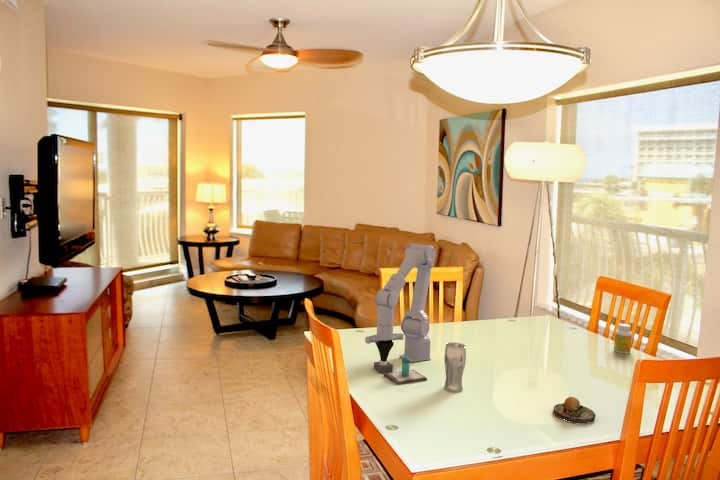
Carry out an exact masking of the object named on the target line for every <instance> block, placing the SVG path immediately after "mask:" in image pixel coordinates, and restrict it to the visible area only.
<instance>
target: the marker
mask: <svg viewBox="0 0 720 480" xmlns="http://www.w3.org/2000/svg"><path fill="white" fill-rule="evenodd" d="M401 358H402V357H401ZM410 364H411V362H410V358H408V357H403V358H402V359H401V371H402V374H401V375H402V376H405V377H407V376H409V370H410Z"/></svg>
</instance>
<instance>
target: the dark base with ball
mask: <svg viewBox="0 0 720 480" xmlns="http://www.w3.org/2000/svg"><path fill="white" fill-rule="evenodd" d="M552 413H553V414H555V415H556V416H557V418H558V419H559V418H561V419H565V420H567V421H570V422H569V423H571V422H573V423H572V424H576V423H588V422H592V423H594V422H595V419H596V413H595V412H594V411H593V410H592V409H590V408H589V407H587V406H584V405H581V402H580V400H579V399H578V398H576V397H574V396H571V394H569V397H567V398H565V399H564V402H563V403H558V404H556V405H554V406H553V411H552ZM555 415H554V416H555ZM556 416H555V417H556ZM561 419H560V420H561ZM567 421H566V422H567ZM593 421H594V422H593ZM588 424H589V423H588Z"/></svg>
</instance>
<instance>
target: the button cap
mask: <svg viewBox="0 0 720 480" xmlns="http://www.w3.org/2000/svg"><path fill="white" fill-rule="evenodd" d="M379 361H380V365H381V366H382V365H387V363H388V362H389V361H388V359H387V361H385V362H383V361H381V359H380V360H379Z"/></svg>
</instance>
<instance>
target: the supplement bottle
mask: <svg viewBox="0 0 720 480" xmlns="http://www.w3.org/2000/svg"><path fill="white" fill-rule="evenodd" d="M630 330H631V324H627V323H618V325H617V329H616V330H615V333H614V346H613V351H614V352H616V353H619V354H630V352H631V350H632V349H631V348H632V340H633V339H632V338H633V333H632V331H630Z"/></svg>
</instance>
